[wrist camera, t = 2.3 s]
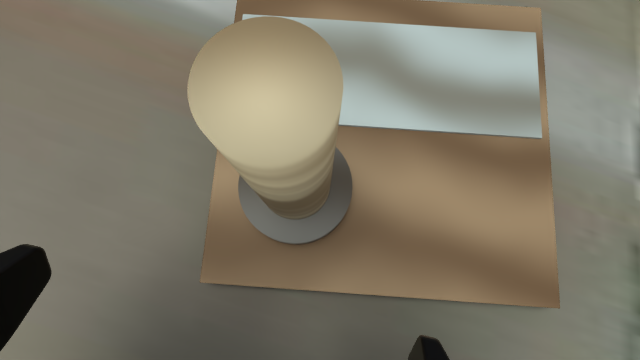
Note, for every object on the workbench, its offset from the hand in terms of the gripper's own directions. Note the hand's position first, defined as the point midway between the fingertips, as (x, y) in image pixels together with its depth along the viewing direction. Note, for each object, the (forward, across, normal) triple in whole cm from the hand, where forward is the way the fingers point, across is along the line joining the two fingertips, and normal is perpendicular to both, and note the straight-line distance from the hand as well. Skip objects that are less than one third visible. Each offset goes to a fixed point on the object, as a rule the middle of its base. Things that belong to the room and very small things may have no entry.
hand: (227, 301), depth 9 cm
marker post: (+11, 0, +4) cm, 11 cm away
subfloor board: (+14, -4, +2) cm, 15 cm away
